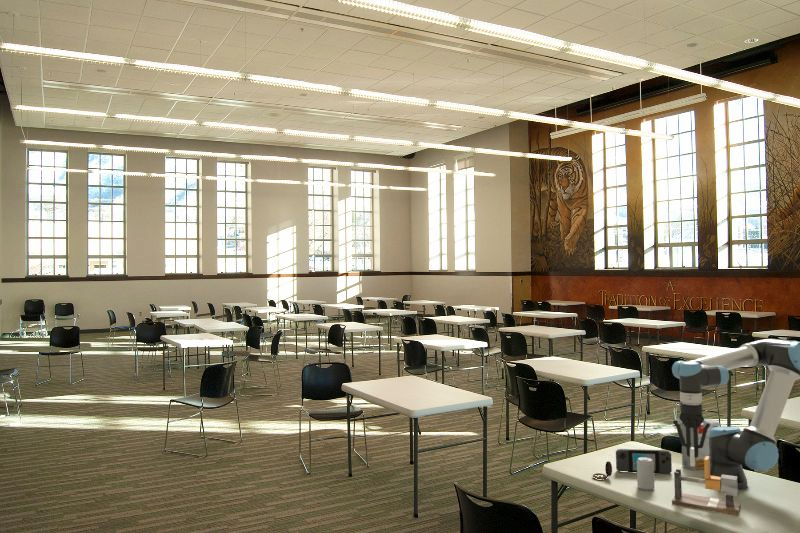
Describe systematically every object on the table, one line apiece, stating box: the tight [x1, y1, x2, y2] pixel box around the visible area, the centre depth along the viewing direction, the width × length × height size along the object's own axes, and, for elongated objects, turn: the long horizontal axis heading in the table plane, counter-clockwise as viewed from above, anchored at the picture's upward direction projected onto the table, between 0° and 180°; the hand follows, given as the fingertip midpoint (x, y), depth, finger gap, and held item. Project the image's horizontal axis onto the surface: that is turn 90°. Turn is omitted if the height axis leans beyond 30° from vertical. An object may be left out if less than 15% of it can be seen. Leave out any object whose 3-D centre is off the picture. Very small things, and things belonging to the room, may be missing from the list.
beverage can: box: [636, 457, 655, 492], centre depth 246 cm, size 6×6×12 cm
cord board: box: [671, 468, 741, 517], centre depth 226 cm, size 10×22×12 cm, turn 56°
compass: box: [592, 460, 613, 481], centre depth 258 cm, size 8×8×7 cm
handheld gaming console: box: [615, 448, 673, 475], centre depth 265 cm, size 23×3×10 cm, turn 80°
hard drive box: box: [681, 418, 720, 471], centre depth 272 cm, size 16×8×20 cm, turn 114°
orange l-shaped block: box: [703, 456, 721, 492], centre depth 225 cm, size 5×5×11 cm
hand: (692, 465), depth 228 cm, fingers closed
